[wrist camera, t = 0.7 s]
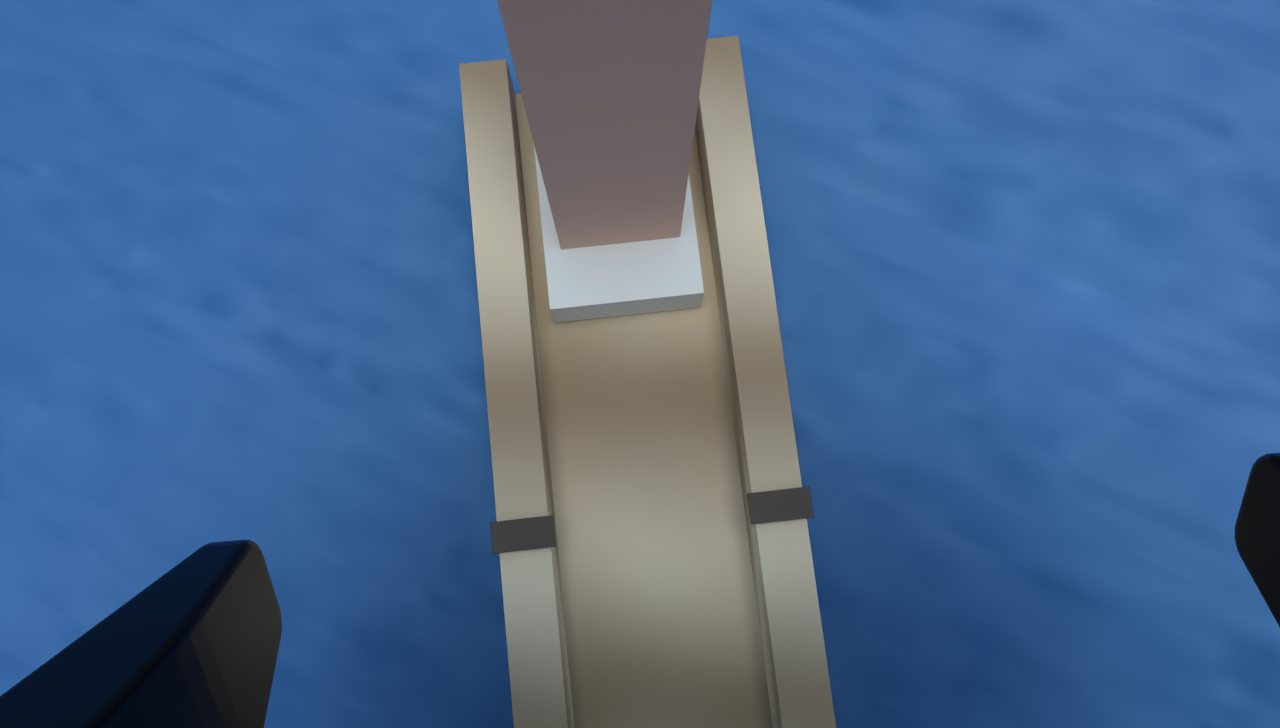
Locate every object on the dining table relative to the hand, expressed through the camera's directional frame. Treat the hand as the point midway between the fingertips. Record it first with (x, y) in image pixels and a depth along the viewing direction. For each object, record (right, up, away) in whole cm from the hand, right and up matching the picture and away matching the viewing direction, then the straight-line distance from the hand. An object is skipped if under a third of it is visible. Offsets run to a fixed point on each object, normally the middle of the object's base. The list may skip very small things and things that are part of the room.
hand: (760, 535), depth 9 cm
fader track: (-1, 0, +13) cm, 13 cm away
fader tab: (-2, +5, +13) cm, 14 cm away
